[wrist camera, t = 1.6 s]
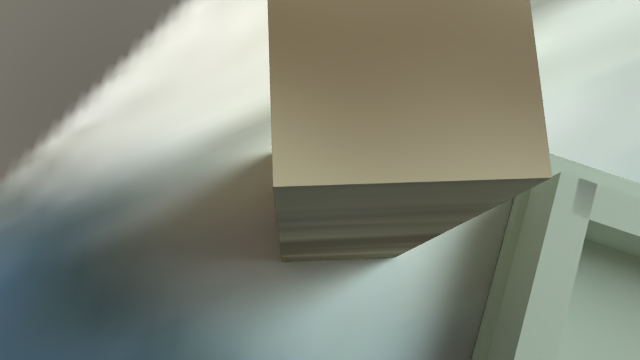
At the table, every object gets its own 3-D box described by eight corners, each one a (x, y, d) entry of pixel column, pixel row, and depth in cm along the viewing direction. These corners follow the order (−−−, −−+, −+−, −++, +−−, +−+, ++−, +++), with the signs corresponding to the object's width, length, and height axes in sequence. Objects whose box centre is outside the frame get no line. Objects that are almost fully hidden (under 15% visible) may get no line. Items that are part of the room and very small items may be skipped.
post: (395, 256, 21) (551, 177, 9) (282, 261, 21) (272, 186, 9) (388, 147, 22) (520, -71, 10) (278, 150, 22) (265, -69, 9)
